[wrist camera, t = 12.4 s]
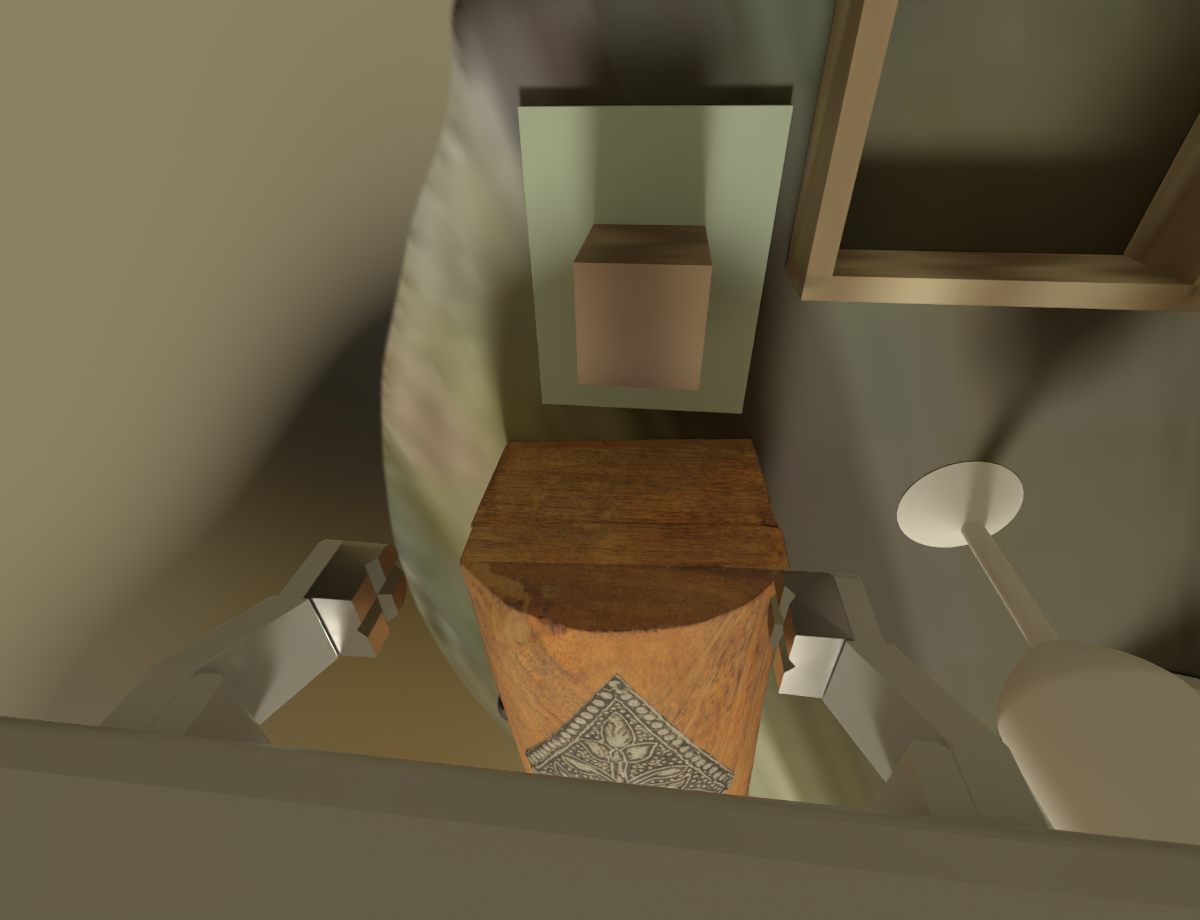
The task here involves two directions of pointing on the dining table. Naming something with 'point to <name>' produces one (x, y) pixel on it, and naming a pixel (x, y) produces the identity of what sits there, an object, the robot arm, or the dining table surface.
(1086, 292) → the birch u-shaped frame
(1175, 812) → the champagne flute
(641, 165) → the felt mat
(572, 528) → the wooden box
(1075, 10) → the dining table surface
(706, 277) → the walnut block
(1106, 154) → the dining table surface
